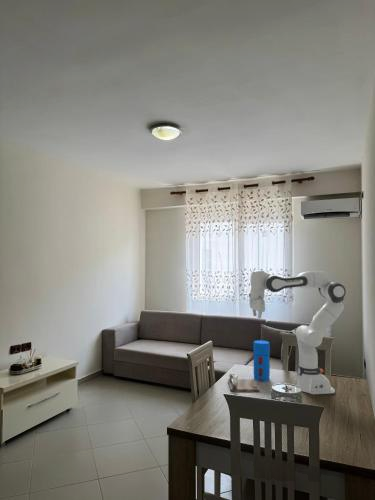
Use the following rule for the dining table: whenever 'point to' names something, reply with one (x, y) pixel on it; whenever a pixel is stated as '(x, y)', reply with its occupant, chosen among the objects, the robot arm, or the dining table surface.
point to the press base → (244, 386)
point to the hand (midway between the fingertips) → (257, 317)
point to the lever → (234, 380)
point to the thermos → (261, 360)
